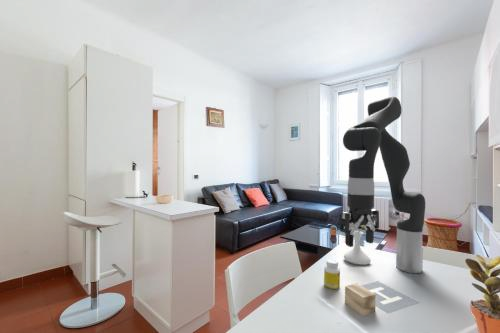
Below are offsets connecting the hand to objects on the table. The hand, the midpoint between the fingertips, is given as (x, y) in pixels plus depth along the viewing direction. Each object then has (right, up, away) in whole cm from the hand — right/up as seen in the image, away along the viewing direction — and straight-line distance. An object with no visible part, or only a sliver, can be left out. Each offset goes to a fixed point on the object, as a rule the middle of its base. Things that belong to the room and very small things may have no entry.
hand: (359, 244), depth 74 cm
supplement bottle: (-5, -20, +12) cm, 24 cm away
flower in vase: (+16, -20, +35) cm, 43 cm away
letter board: (+11, -20, +7) cm, 24 cm away
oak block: (0, -20, 0) cm, 20 cm away
